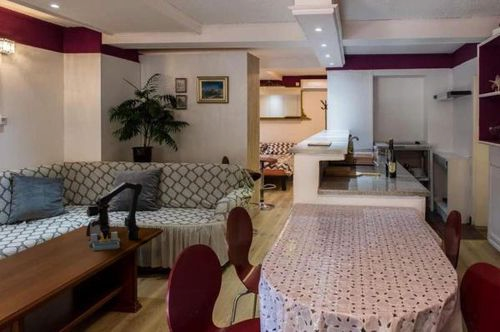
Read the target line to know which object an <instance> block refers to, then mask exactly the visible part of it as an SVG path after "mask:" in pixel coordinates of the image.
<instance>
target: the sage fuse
mask: <svg viewBox="0 0 500 332" xmlns="http://www.w3.org/2000/svg"><path fill="white" fill-rule="evenodd" d="M118 236H119V234H118V231H111V232H110V239H111V240H112V241H114V240H118V238H119V237H118Z"/></svg>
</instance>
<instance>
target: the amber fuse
mask: <svg viewBox="0 0 500 332" xmlns="http://www.w3.org/2000/svg"><path fill="white" fill-rule="evenodd" d="M108 235H109V234H108ZM108 235H107V238H106V239H104V236H103V233H101V236H100V240H101V241H102V242H104V241H108V239H109V238H108V237H109V236H108Z"/></svg>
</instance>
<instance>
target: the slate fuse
mask: <svg viewBox="0 0 500 332" xmlns="http://www.w3.org/2000/svg"><path fill="white" fill-rule="evenodd" d="M98 240H99V239H98V236H97V234H91V237H90V241H91V243H94V242H98Z"/></svg>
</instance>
